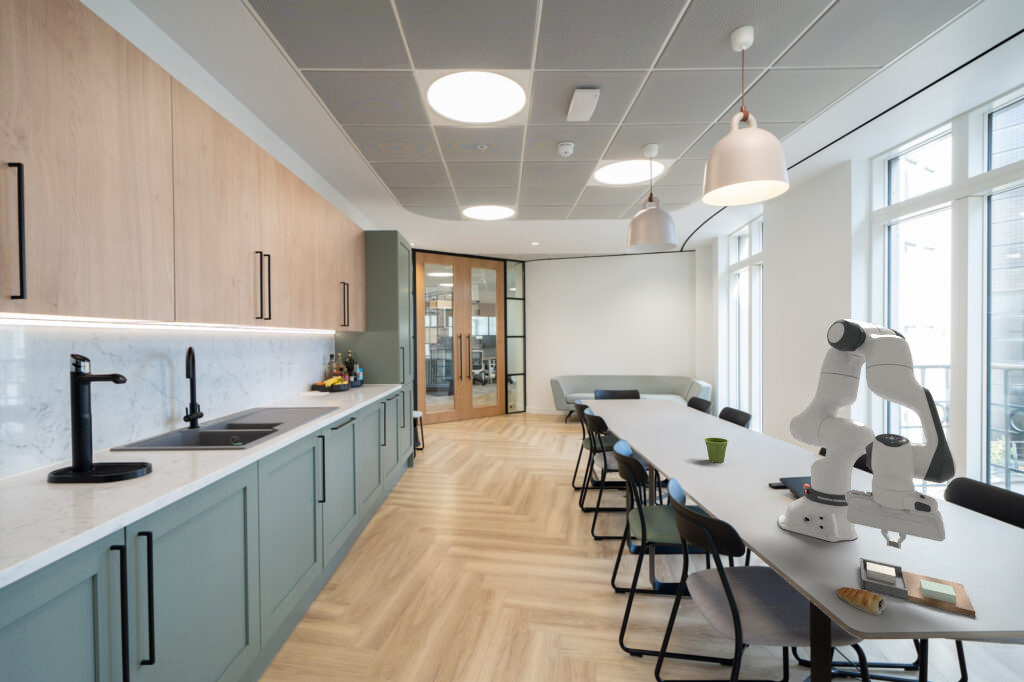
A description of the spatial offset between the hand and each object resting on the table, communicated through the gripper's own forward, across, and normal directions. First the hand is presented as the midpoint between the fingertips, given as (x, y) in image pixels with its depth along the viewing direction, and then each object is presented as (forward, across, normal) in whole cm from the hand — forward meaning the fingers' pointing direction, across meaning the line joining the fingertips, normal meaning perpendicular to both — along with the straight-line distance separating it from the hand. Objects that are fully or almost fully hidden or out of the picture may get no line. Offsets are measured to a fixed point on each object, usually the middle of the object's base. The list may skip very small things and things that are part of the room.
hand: (893, 546), depth 121 cm
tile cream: (+9, -3, 0) cm, 10 cm away
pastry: (+9, -5, -19) cm, 21 cm away
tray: (+9, -2, -3) cm, 10 cm away
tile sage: (+8, +8, -5) cm, 12 cm away
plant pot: (+14, -74, +89) cm, 117 cm away
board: (+9, +8, -2) cm, 12 cm away
